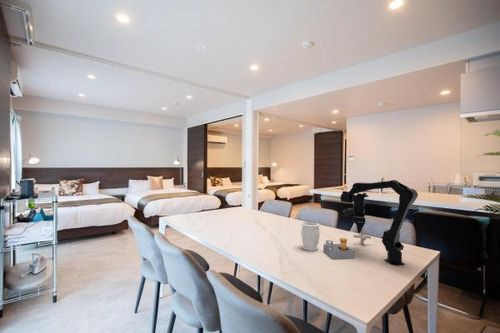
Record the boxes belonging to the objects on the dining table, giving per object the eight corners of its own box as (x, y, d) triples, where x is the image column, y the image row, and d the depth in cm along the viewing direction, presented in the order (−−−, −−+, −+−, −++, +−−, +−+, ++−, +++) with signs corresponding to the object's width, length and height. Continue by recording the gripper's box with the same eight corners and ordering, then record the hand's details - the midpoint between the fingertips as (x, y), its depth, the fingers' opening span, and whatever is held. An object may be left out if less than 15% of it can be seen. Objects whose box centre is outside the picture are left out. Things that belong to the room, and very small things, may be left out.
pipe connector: (373, 247, 146) (373, 231, 146) (355, 246, 148) (355, 230, 148) (368, 242, 156) (368, 227, 156) (352, 241, 158) (352, 226, 158)
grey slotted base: (354, 258, 128) (354, 246, 128) (332, 259, 127) (332, 246, 127) (343, 250, 140) (343, 239, 140) (323, 251, 139) (323, 240, 139)
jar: (306, 252, 137) (306, 226, 137) (298, 246, 147) (298, 222, 147) (322, 250, 139) (323, 225, 140) (313, 245, 149) (313, 221, 150)
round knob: (348, 254, 130) (348, 240, 130) (341, 254, 130) (341, 240, 130) (344, 251, 134) (344, 237, 134) (338, 252, 133) (338, 238, 133)
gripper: (344, 201, 150) (344, 226, 150) (343, 205, 133) (343, 233, 133) (364, 202, 145) (364, 228, 145) (365, 207, 128) (365, 236, 128)
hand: (358, 231), depth 138 cm, fingers open, 9 cm apart
